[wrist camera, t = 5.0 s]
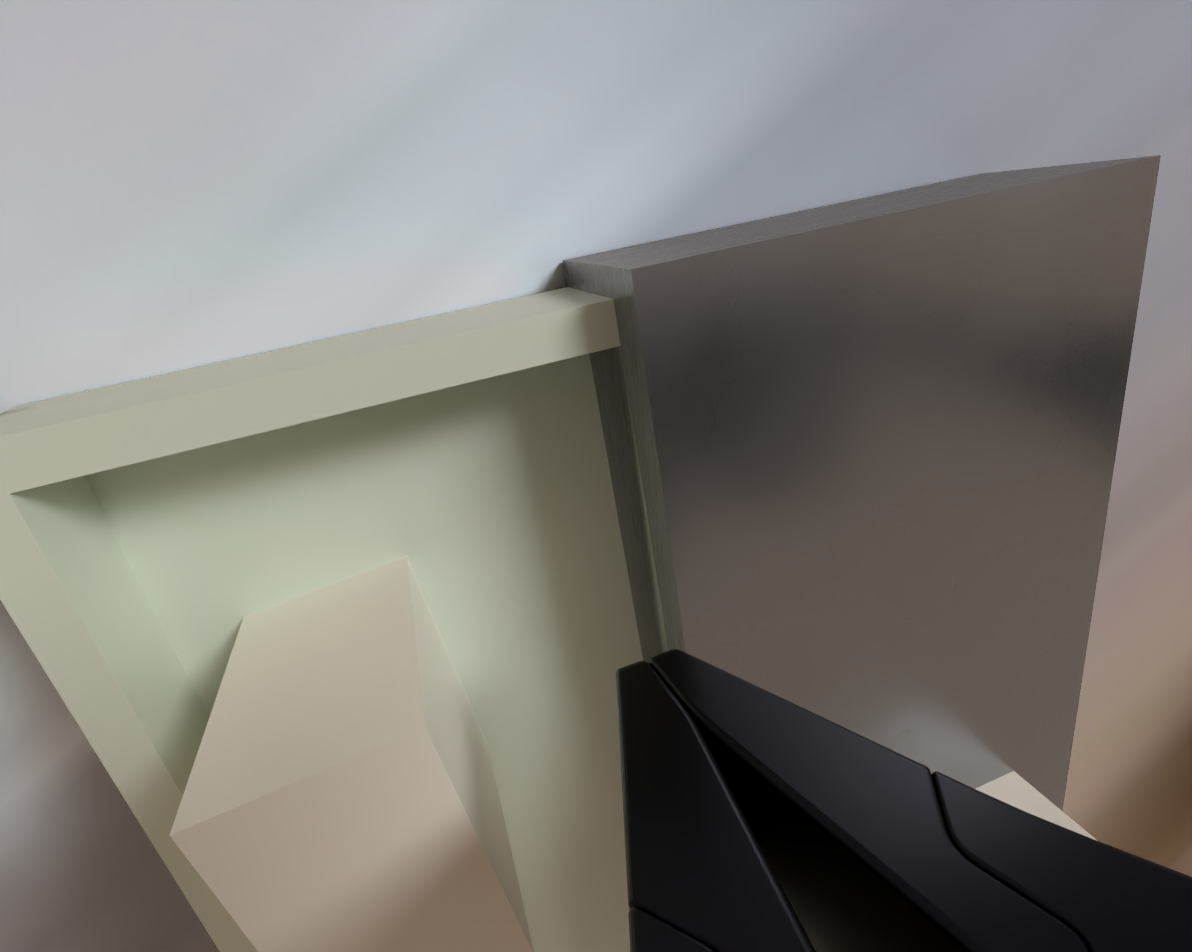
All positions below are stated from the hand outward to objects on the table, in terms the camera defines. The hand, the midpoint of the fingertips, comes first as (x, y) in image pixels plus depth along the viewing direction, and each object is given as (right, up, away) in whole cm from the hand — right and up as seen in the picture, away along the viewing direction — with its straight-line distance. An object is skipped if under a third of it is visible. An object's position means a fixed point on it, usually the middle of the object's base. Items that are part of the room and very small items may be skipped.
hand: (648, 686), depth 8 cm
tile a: (-3, -1, +1) cm, 3 cm away
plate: (+4, -1, +6) cm, 7 cm away
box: (-3, -3, +4) cm, 6 cm away
